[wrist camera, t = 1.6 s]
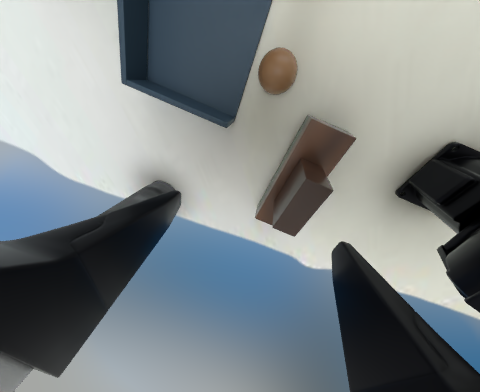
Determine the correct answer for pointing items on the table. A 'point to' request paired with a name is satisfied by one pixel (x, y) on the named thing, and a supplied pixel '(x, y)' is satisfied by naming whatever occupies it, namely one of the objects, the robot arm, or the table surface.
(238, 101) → the dustpan
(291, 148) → the brush
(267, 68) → the brown rounded piece
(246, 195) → the table surface
